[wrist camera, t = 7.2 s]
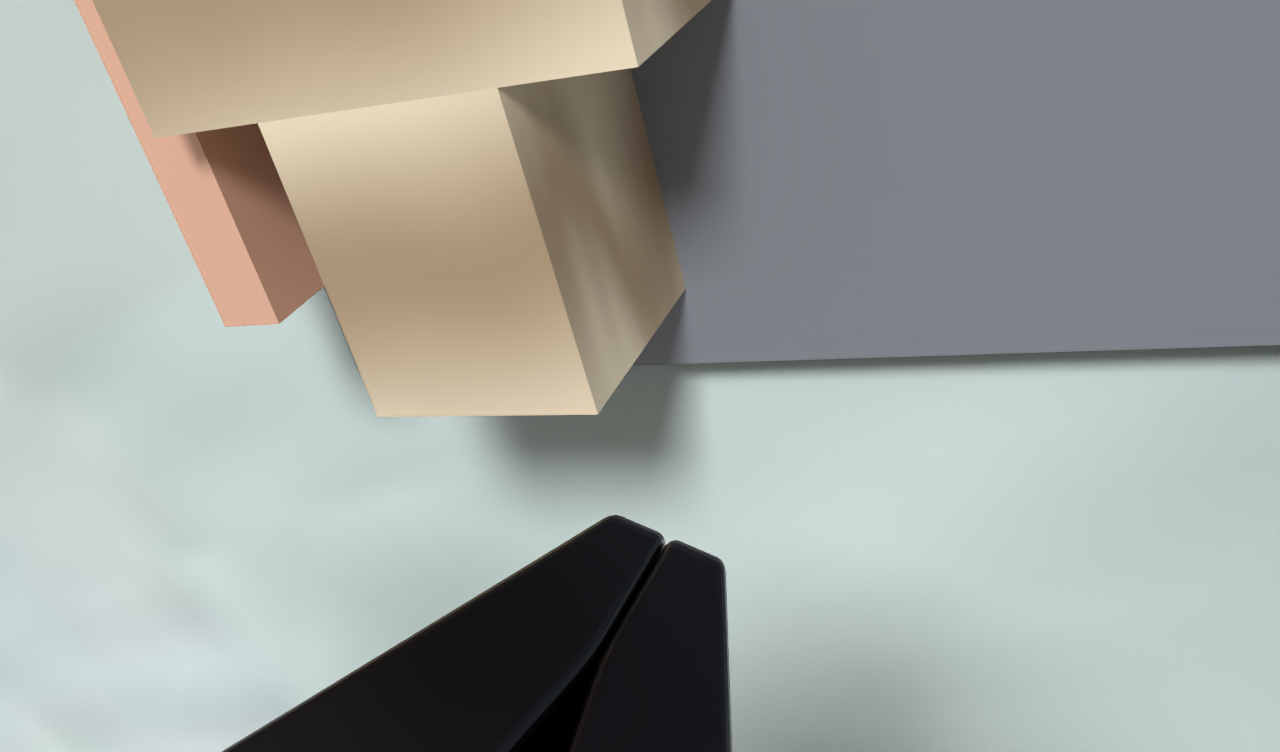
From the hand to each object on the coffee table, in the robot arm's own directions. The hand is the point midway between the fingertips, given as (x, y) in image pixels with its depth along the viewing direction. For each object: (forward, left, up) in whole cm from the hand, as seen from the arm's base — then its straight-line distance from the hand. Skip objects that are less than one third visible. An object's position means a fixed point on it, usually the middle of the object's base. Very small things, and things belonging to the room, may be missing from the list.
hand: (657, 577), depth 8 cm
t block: (+1, +7, -12) cm, 13 cm away
